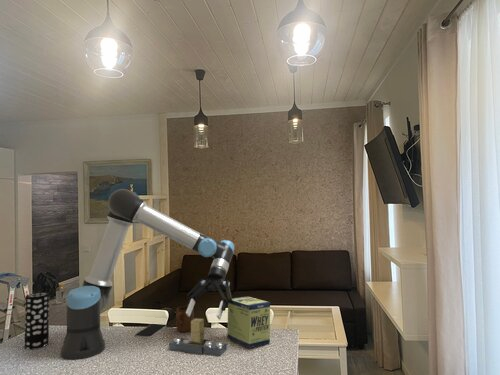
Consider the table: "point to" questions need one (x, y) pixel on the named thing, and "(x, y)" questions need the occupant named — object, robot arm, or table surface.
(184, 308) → the mug
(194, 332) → the gold block
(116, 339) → the table surface
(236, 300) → the protein box
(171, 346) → the grey link plate
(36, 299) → the white-spotted black cylinder
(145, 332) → the smartphone
